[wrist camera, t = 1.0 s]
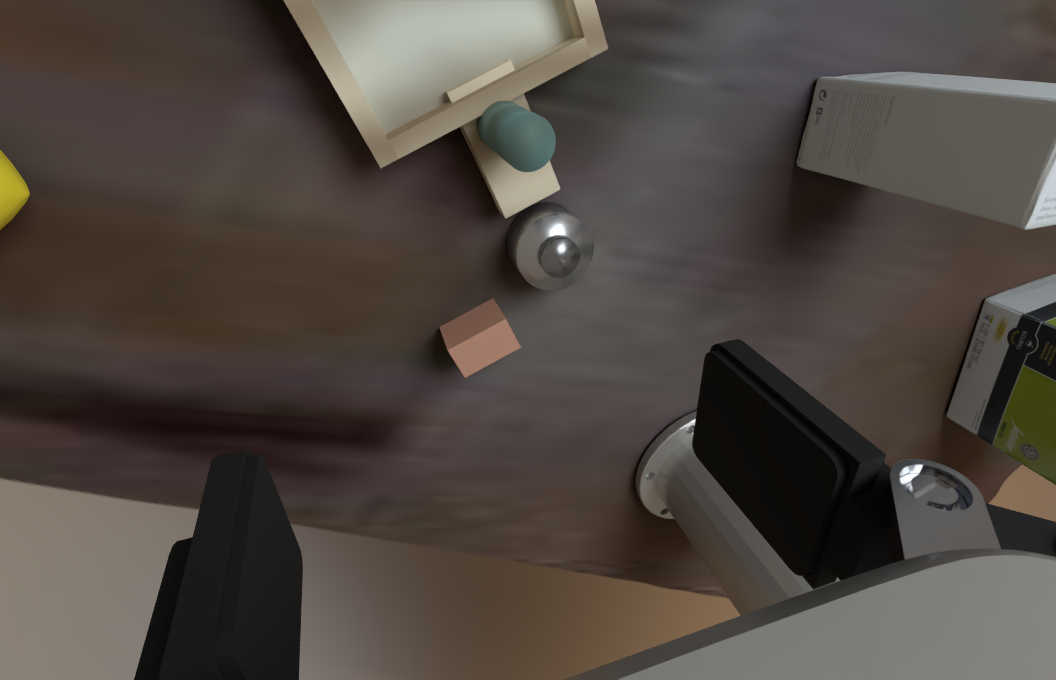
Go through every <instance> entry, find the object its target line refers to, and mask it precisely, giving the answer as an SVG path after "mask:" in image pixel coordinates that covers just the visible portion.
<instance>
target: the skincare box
mask: <svg viewBox="0 0 1056 680" xmlns="http://www.w3.org/2000/svg"><path fill="white" fill-rule="evenodd" d="M797 165H798V167H800V168H803V169H807V170H811V171H815V172H818V173H822V174H826V175H830V176H834V177H837V178H841V179H845V180H848V181H852V182H856V183H859V184H863V185H866V186H870V187H873V188H877V189H880V190H884V191H888V192H892V193H895V194H899V195H903V196H907V197H910V198H914V199H918V200H922V201H925V202H929V203H933V204H936V205H940V206H944V207H947V208H951V209H955V210H958V211H962V212H966V213H969V214H973V215H977V216H980V217H984V218H988V219H991V220H994V221H998V222H1001V223H1005V224H1008V225H1012V226H1016V227H1019V228H1021V229H1023V230H1026V229H1033V228H1039V227H1045V226H1051V225H1056V84H1054V83H1042V82H1030V81H1018V80H1006V79H993V78H980V77H967V76H954V75H940V74H927V73H914V72H887V73H871V74H855V75H845V76H839V77H820V78H819V79H818V80H817V83H816V87H815V91H814V96H813V101H812V106H811V110H810V113H809V117H808V121H807V124H806V128H805V131H804V134H803V138H802V143H801V147H800V150H799V155H798V158H797Z"/></svg>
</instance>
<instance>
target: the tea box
mask: <svg viewBox="0 0 1056 680" xmlns="http://www.w3.org/2000/svg"><path fill="white" fill-rule="evenodd" d="M946 416H947V417H948V418H949V419H951V420H952V421H954V422H955V423H957V424H959V425H960V426H962V427H963V428H965V429H966V430H968V431H970V432H971V433H973V434H975V435H976V436H979V437H980V438H982V439H983V440H985V441H986V442H988V443H989V444H991V445H992V446H994V447H995V448H997V449H999V450H1000V451H1002V452H1004V453H1005V454H1007V455H1008V456H1010V457H1011V458H1013V459H1015V460H1016V461H1018V462H1020V463H1021V464H1023V465H1024V466H1026V467H1028V468H1029V469H1031V470H1032V471H1034V472H1036V473H1038V474H1039V475H1041V476H1042V477H1044V478H1045V479H1047V480H1049V481H1050V482H1052V483H1054V484H1055V485H1056V274H1053V275H1050V276H1047V277H1044V278H1041V279H1038V280H1035V281H1032V282H1030V283H1027V284H1024V285H1021V286H1018V287H1015V288H1013V289H1010V290H1007V291H1004V292H1001V293H999V294H996V295H993V296H991V297H988V298H986V299H985V301H984V304H983V307H982V310H981V313H980V316H979V319H978V322H977V325H976V328H975V331H974V334H973V337H972V341H971V344H970V347H969V349H968V352H967V356H966V359H965V362H964V365H963V368H962V371H961V374H960V377H959V380H958V383H957V386H956V389H955V391H954V394H953V397H952V400H951V403H950V406H949V409H948V412H947V415H946Z"/></svg>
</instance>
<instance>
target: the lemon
mask: <svg viewBox="0 0 1056 680" xmlns="http://www.w3.org/2000/svg"><path fill="white" fill-rule="evenodd" d="M29 195H30V192H29V189H28V187H27V185H26V183H25V181H24V180H23V178H22V177H21V175H20V174H19V172H18V171H17V169H16V168H15V167H14V166H13V164H12V163H11V162H10V161H9V159H8V158H7V157H6V156H5V154H4V153H3V152H2V151H1V150H0V230H1V229H2V228H3V227H4V226H5V225H6V224H7V223H9V222H10V221H11V220H12V219H13V218H14V216H15V215H16V214H17V213H18V212H19V210H20V209H21V208H22V207H23V206H24V204H25V203H26V202H27V199H28V197H29Z"/></svg>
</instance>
